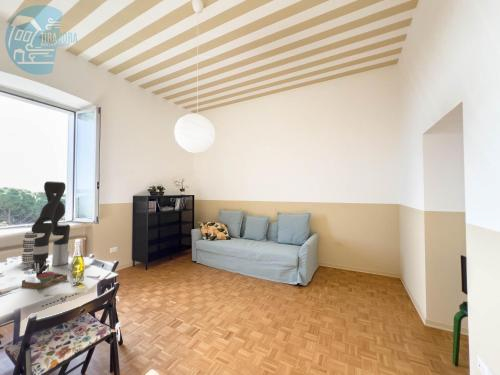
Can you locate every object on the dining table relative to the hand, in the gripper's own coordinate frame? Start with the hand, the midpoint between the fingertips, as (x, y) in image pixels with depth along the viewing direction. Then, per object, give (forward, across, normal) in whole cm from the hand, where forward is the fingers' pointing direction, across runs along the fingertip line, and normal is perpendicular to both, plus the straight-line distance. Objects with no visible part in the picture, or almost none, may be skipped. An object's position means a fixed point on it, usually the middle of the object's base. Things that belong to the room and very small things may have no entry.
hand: (38, 277), depth 140 cm
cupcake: (+3, -6, 0) cm, 7 cm away
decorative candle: (+4, +50, -26) cm, 57 cm away
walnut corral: (+3, -6, 0) cm, 7 cm away
